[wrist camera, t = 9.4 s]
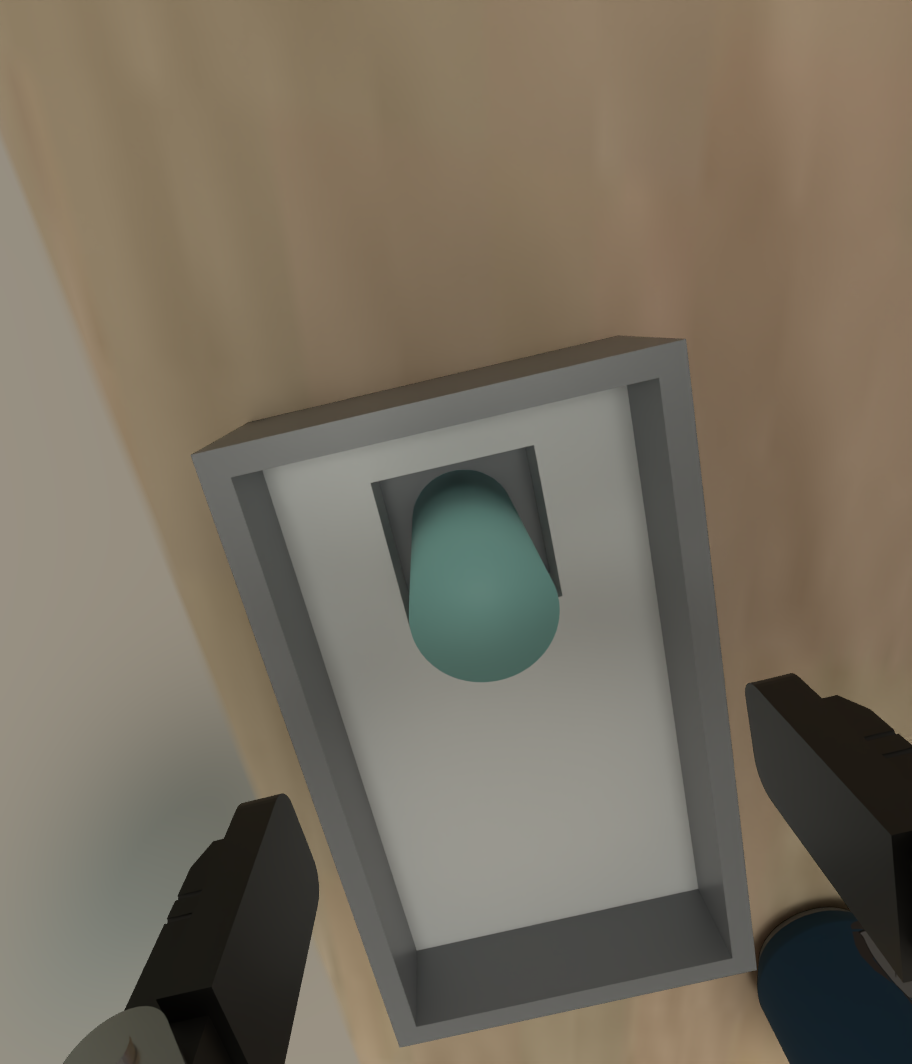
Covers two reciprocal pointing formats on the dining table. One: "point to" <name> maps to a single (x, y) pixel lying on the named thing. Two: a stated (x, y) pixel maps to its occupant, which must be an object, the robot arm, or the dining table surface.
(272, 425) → the bin
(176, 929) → the robot arm
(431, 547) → the peg
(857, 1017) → the soda can
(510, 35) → the dining table surface
